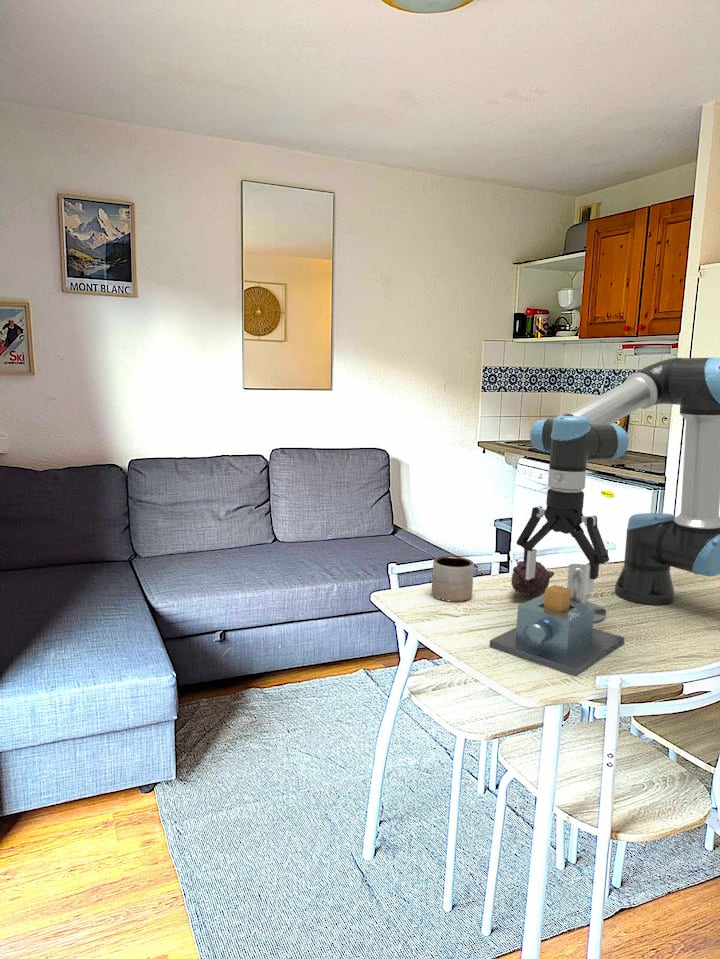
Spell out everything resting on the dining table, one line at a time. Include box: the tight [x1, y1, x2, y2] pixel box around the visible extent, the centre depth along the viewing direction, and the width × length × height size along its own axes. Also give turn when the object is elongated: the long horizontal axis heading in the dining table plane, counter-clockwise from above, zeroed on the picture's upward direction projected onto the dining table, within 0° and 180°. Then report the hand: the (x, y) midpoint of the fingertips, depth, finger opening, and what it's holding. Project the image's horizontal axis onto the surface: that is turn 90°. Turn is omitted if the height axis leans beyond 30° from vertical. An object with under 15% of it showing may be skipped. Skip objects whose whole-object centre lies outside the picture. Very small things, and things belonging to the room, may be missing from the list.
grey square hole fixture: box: [489, 563, 625, 677], centre depth 151 cm, size 26×20×16 cm
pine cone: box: [510, 560, 555, 597], centre depth 184 cm, size 18×10×10 cm, turn 137°
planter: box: [431, 555, 475, 602], centre depth 182 cm, size 11×11×10 cm
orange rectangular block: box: [544, 584, 571, 613], centre depth 148 cm, size 4×4×12 cm
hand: (558, 585), depth 147 cm, fingers open, 13 cm apart
